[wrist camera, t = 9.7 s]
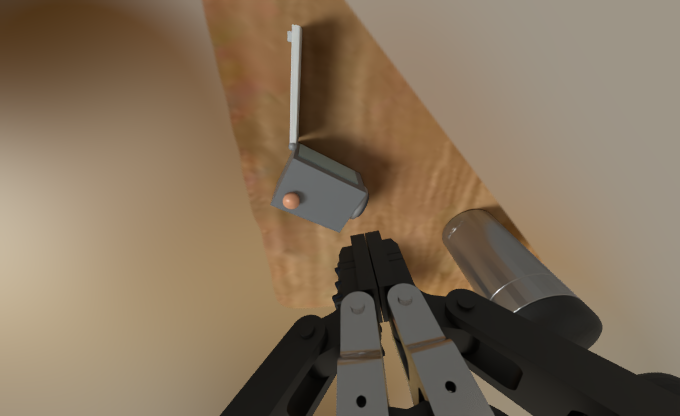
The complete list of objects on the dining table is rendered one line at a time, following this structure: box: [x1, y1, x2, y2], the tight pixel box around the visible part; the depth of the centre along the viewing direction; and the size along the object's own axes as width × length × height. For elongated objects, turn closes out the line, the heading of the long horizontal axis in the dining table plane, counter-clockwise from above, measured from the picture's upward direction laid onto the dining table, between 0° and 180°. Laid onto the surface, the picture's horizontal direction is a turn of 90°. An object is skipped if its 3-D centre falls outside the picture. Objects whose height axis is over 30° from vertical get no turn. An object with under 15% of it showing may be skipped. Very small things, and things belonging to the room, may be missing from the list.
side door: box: [288, 25, 302, 151], centre depth 28 cm, size 12×1×5 cm, turn 173°
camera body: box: [271, 143, 369, 233], centre depth 34 cm, size 12×7×7 cm, turn 60°
